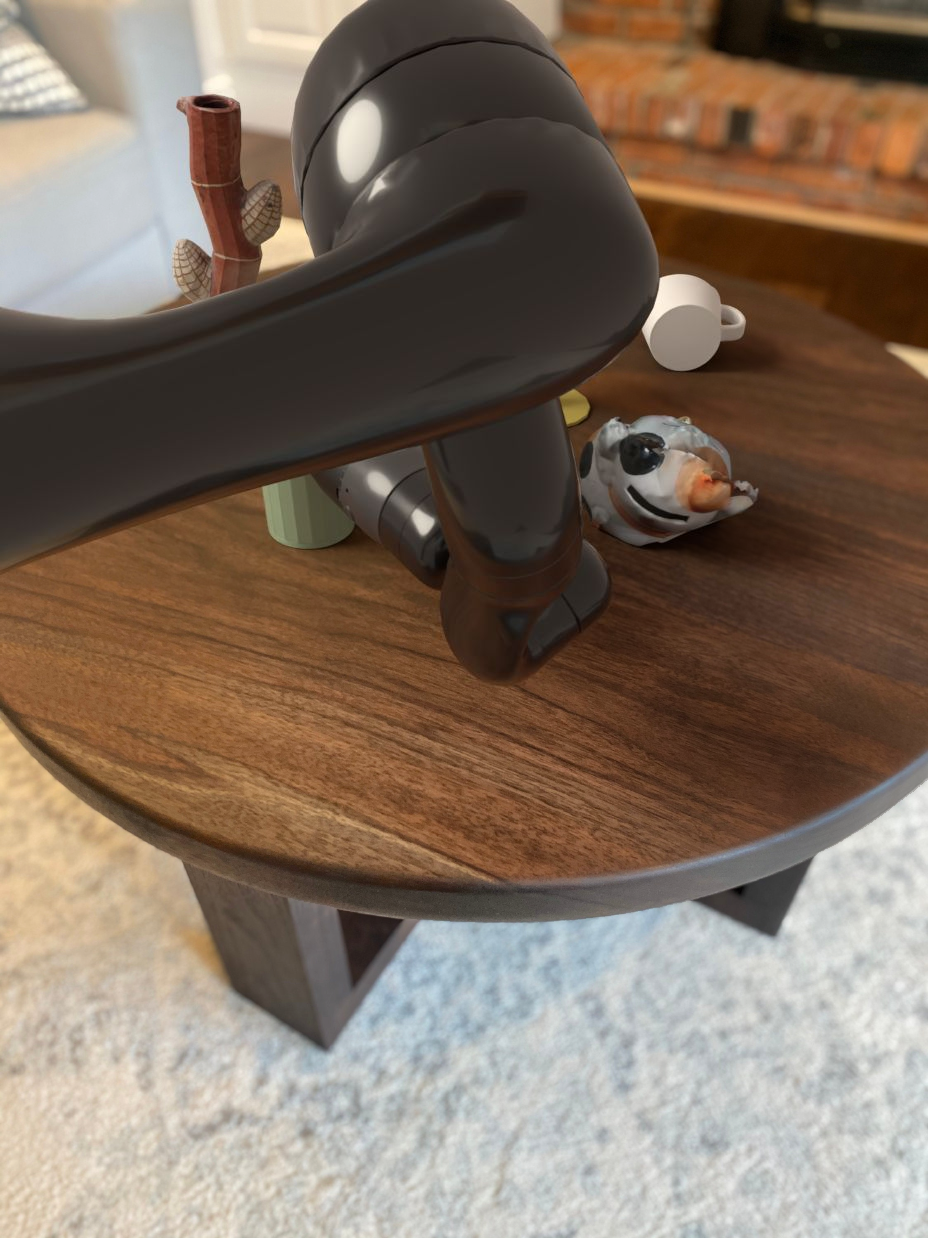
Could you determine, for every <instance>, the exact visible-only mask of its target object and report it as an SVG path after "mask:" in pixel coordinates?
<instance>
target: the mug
mask: <svg viewBox="0 0 928 1238" xmlns="http://www.w3.org/2000/svg"><path fill="white" fill-rule="evenodd" d="M722 321H723V322H726V323H728V324H723V323H722ZM746 324H747V319H746V317H745V315H744V314H743V313H742V312H741V311H740V310H739V309H737V308H736V307H733V306H731V305H728V304H722V303H721V297H720V294H719V292H718V290H717V289H716V288H715V287H714V286H712V285H711V284H710V283H708V282H707V281H706V280H704V279H702V278H701V277H698V276H695V275H691V274H683V273H676V274H670V275H665V276H662V277H660V283H659V291H658V294H657V298H656V301H655V305H654V308H653V310H652V312H651V314H650V315H649V317H648V319H647V321H646V323H645V325H644V327H643V328H642V330H641V331H642V334H643V337H644V339H645V341H646V344H647V346H648V348H649V350H650V353H651V355H652V357H653V359H654V360H655V361H656V362H657V363H658V364H659V365H660V366H662V367H664V368H666V369H668V370H671V371H675V372H686V371H691V370H695V369H697V368H700V367H701V366H703V365H705V364H706V363H708V362H709V361H710V360H711V359H712V358H713V356H715V354H716V353H717V351H718V349H719V347H720V344H721V342H734V341H737V340H739V339H741V338H742V337H743V336H744V334H745V330H746V329H745V328H746Z"/></svg>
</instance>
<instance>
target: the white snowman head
mask: <svg viewBox="0 0 928 1238" xmlns="http://www.w3.org/2000/svg"><path fill="white" fill-rule="evenodd" d="M695 425H696V424H695V421H694V420H693V418H692V417H690V416H687V415H684V416H681V417H678V418H676V417H674V416H669V415H666V414H665V415H659V414H651V415H644V416H641V417H639V418H638V419H636V420H635V421H634V422H632V423H631V424H629V423H624V422H623V419H622V418H621V417H620V416H615V417H612V418H610V419H609V420H608V421H607V422H605V423H603V425H602V426H601V427H599V428H598V429H597V430H595V431H594V432H593V433H592V435H590V436H589V438H588V440H587V441H586V443H585V445H584V446H583V448H582V451H581V454H580V458H579V463H578V464H579V465H578V467H579V469H578V474H579V480H580V487H581V500H582V505H584V507H585V509H586V511H587V513H588V516H589V518H590V521H591V525H592V526H593V527H595V528H596V529H599V530H601V531H603V532H605V533H607V534H609V535H611V536H613V537H615V538H617V539H619V540H620V541H623V542H625V544H629V545H632V546H634V547H641V546H644V545H649V544H652V543H657V542H658V543H661V544H663V543H665V542H666V543H667V542H668V541H670V540H672V539H675V538H676V537H679V536H681V535H683V534H685V533H688V532H691V531H693V530H694V531H695V530H697V529H699V528H703V527H705V526H707V525H710V524H713V523H716V522H718V521H721V520H724V519H727V518H731V517H733V516H736V515H739V514H742V513H744V512H745V511H746V510H747V509H749V508H750V507H751V506H753V505H754V504H755V502H756V501H757V499H758V494H759V491H760V490H759V488H758V487H756V488H755V487H753V485H752V484H751V483H750V482H749V481H748V480H739V479H736V480H732V463H731V457H730V454H729V452H728V450H727V449H726V447H725V446H724V445H723V444H722V443H721V442H720V441H719V440H717V439H715V438H714V437H713V436H711V435H710V434H707V433H705V432H703V431H702V430H701V429H700V428H698V427H697V426H695ZM754 488H755V489H754Z"/></svg>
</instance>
